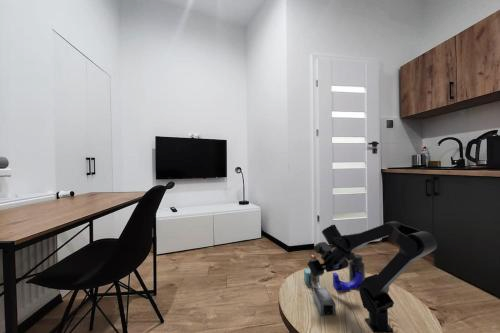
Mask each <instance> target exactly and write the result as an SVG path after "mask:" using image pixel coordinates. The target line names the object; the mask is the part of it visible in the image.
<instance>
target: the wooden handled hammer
mask: <svg viewBox="0 0 500 333" xmlns="http://www.w3.org/2000/svg"><path fill="white" fill-rule="evenodd" d="M314 259H317V260H318V256H317V254H315V253H314V254H309V261H310V260H314ZM310 273H311V270H310ZM309 281H310V283H311V284H310V285H311V287H312V289H313V288H322V286H321V285H320V282H319V283H318V281H317V277H311V276H309Z"/></svg>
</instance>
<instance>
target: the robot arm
mask: <svg viewBox="0 0 500 333" xmlns="http://www.w3.org/2000/svg"><path fill="white" fill-rule="evenodd" d="M321 233H322V235H323V237H324V238H325V239H324V240H326V241H321V242H318V243H316V244H315V245H314V248H313V250H314V252H315V253H316V254H320V256H321V257H320V258H321V260H322V261H323V263H320V260H319V259H318V258H317V259H314V260H310V259H309V260H308V262H307V266H308V269H310V270H311V273H310V276H311V277H319V278H320V277H322V276H323V275H324V274H325V271H326V273H330V272H331V273H332V272H335V271H341V270H343V269H346V268H349V261H350V260H354V259H355V256H354V254H355V252H353V251H355V250H360V249H362V248H364V247H365V246H366V245H368V244H369V243H371V242H374V241H378V240H381V239H384V238H387V237H390V239H392V240H393V241H394V242H395V244H397V245H398V252H397V253H396V254H395V256H393V257H392V259H390V261H389V262H388V263H387V264H386V265H385V266H384V267H383V268H382V269H381V270H380V272H379V273H378V274H377V273H376V274H373V275H369V276H365V279H364V280H363V282H362V283H360V284H359V285H361V286H360V287H359V288H358V291H359V296H360V299H361V303H362V307H363V308H364V309H366V312H368V318H364V321H365V323H366V324H367V326H368V327H369V329H370V330H371V331H372V332H374V333H393V332H394V329H393V327H391V326H390V324H389V314H388V313H389V312H388V311H389V309H391V308H393V307H394V304H395V302H394V300H393V299H392V297H391V296H390V294H389V292H390V286H391V285H392V284H393V283H394V282H395V281H396V280H397V279H398V278H399V277H400V276H401V275H402V274H403V273H404V272H405V271H406V270H407V269H408V268H409V267H410V266H411V265H412V264H413V263H414V262H416V261H417V260H420V259H421V258H423V257H425V256H427V255H429V254H430V253H432V252H433V251H435V250H437V248H438V243H437V239H436V238H435V237H434V235H433V234H431V233H430V232H428V231H423V230H422V231H421V230H420V229H418V228H414V227H412V226H409V225H406V224H403V223H401V222H399V221H395V220H394V221H388V222H384V223H383V224H381V225H378V226H376V227H373V228H371V229H367V230H365V231H362V232H357V233H356V232H355V233H350V234H344V235H342V234H341V233H340V231H339V229H338V228H337V226H336V224H330V225H329V226H328V227H326V228H324V229H322V231H321ZM331 246H333V247H331Z"/></svg>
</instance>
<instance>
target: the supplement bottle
mask: <svg viewBox="0 0 500 333" xmlns="http://www.w3.org/2000/svg"><path fill="white" fill-rule="evenodd" d="M354 256H355V259H354V260H350V261H348V263H349V266H348V276H349V278H348V279H349V282H350V281H352V280H353V279H354V278H355V276H356V272H360V273H361V274H362V281H363V280H364V279H365V278H366V268H365V267H366V265H365V263H364V261H363V256H362V255H360V254H356V253H354Z"/></svg>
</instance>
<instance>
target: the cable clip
mask: <svg viewBox="0 0 500 333" xmlns="http://www.w3.org/2000/svg"><path fill="white" fill-rule="evenodd" d="M362 282H363V281H362V274H361V273H360V272H356V276H355V278H354V279H353V280H352V281H350V280H349V281H347V282H346V281H341V280H340V277H339V273H337V272H332V286H333V287H334V289H335V290H336V291H337V292H339V291H351V289H359V287H360V286H361V285H359V284H360V283H362Z"/></svg>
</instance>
